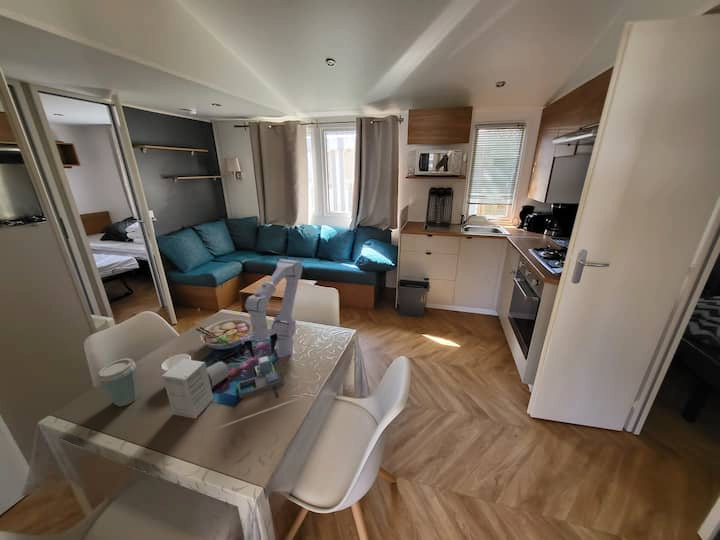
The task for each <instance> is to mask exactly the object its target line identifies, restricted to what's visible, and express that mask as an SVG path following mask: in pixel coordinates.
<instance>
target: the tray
mask: <svg viewBox="0 0 720 540" xmlns="http://www.w3.org/2000/svg"><path fill="white" fill-rule="evenodd" d="M270 368H271V372H274V371H276V369H275V367H274V365H273V361H270ZM254 370H255V373H256V377H258V376H261V374H260V370H259V365H256V366H254ZM271 372H269V373H271ZM266 374H267V373H266ZM263 375H264V374H263Z"/></svg>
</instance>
